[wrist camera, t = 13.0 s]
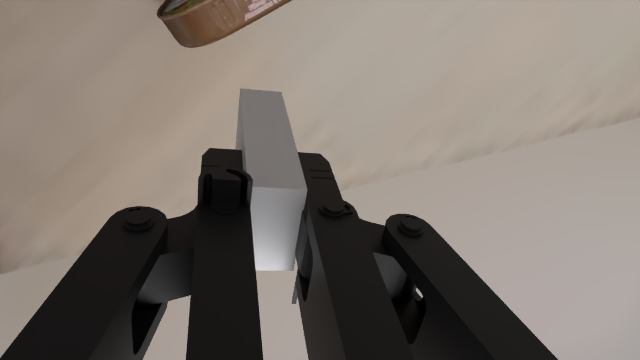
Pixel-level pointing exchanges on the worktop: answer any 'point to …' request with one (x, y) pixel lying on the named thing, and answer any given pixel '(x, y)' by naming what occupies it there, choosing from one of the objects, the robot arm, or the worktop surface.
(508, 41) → the worktop surface
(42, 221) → the worktop surface
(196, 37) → the tin
